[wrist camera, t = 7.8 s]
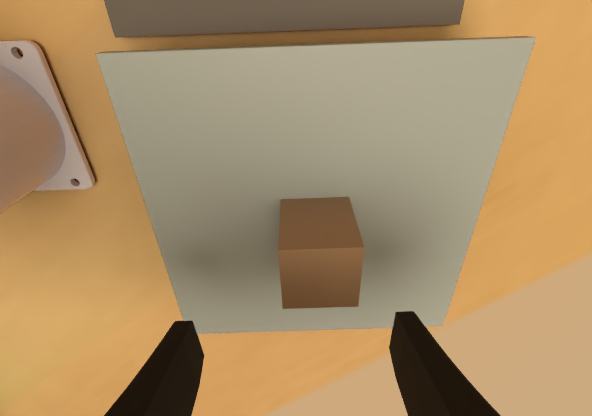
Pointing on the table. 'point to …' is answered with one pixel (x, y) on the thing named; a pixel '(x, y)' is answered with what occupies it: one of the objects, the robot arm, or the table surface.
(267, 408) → the table surface
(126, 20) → the mat
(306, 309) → the lid
